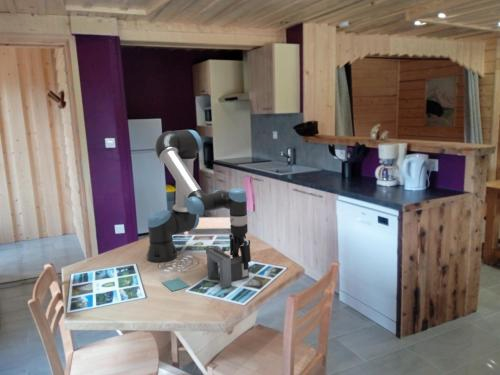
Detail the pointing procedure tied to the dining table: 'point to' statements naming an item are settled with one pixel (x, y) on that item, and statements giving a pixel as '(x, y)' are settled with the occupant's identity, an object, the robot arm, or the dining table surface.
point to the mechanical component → (214, 247)
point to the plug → (237, 268)
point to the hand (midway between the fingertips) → (240, 273)
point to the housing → (225, 267)
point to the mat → (175, 284)
